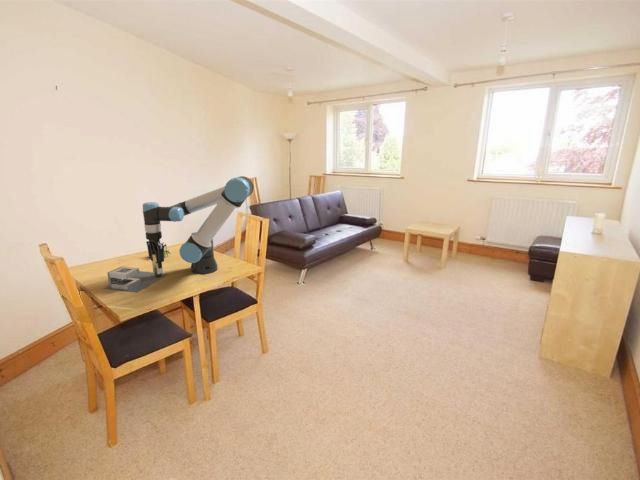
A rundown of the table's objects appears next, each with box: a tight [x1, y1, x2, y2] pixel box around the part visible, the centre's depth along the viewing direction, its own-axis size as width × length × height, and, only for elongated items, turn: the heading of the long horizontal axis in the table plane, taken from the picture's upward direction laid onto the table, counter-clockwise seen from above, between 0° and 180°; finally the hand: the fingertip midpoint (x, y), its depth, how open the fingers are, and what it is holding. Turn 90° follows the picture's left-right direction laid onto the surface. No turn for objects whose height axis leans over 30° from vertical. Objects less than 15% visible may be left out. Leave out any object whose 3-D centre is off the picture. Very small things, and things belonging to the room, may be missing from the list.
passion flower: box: [157, 241, 171, 257], centre depth 204 cm, size 11×11×12 cm
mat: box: [103, 270, 170, 293], centre depth 165 cm, size 19×25×1 cm
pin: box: [152, 254, 162, 278], centre depth 170 cm, size 4×4×13 cm
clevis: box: [107, 266, 141, 290], centre depth 157 cm, size 10×9×8 cm
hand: (158, 272), depth 171 cm, fingers closed on pin, 3 cm apart
